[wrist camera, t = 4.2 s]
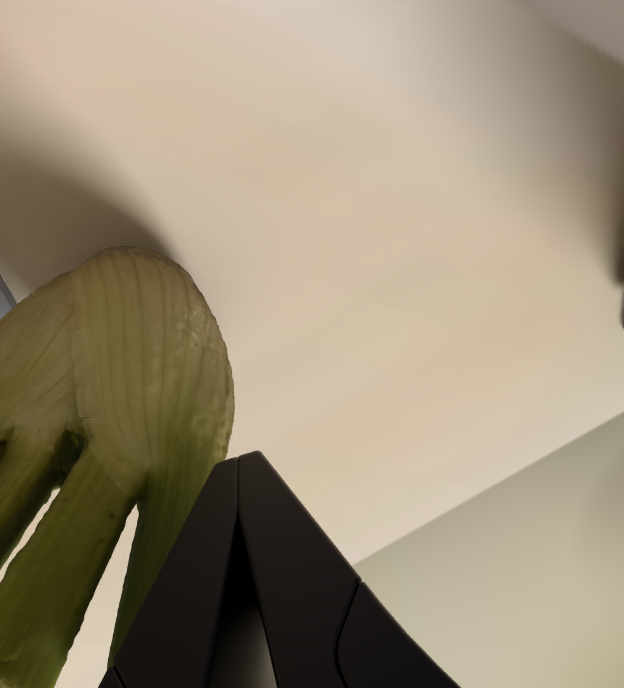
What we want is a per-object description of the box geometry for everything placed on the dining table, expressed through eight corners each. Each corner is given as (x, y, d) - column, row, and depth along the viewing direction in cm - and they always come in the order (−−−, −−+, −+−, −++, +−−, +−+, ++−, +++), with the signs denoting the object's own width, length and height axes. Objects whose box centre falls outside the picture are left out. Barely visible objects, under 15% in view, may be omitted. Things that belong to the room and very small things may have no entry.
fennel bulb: (262, 326, 16) (230, 750, 6) (166, 401, 18) (3, 857, 7) (132, 197, 14) (-305, 526, 4) (33, 295, 15) (-500, 747, 5)
